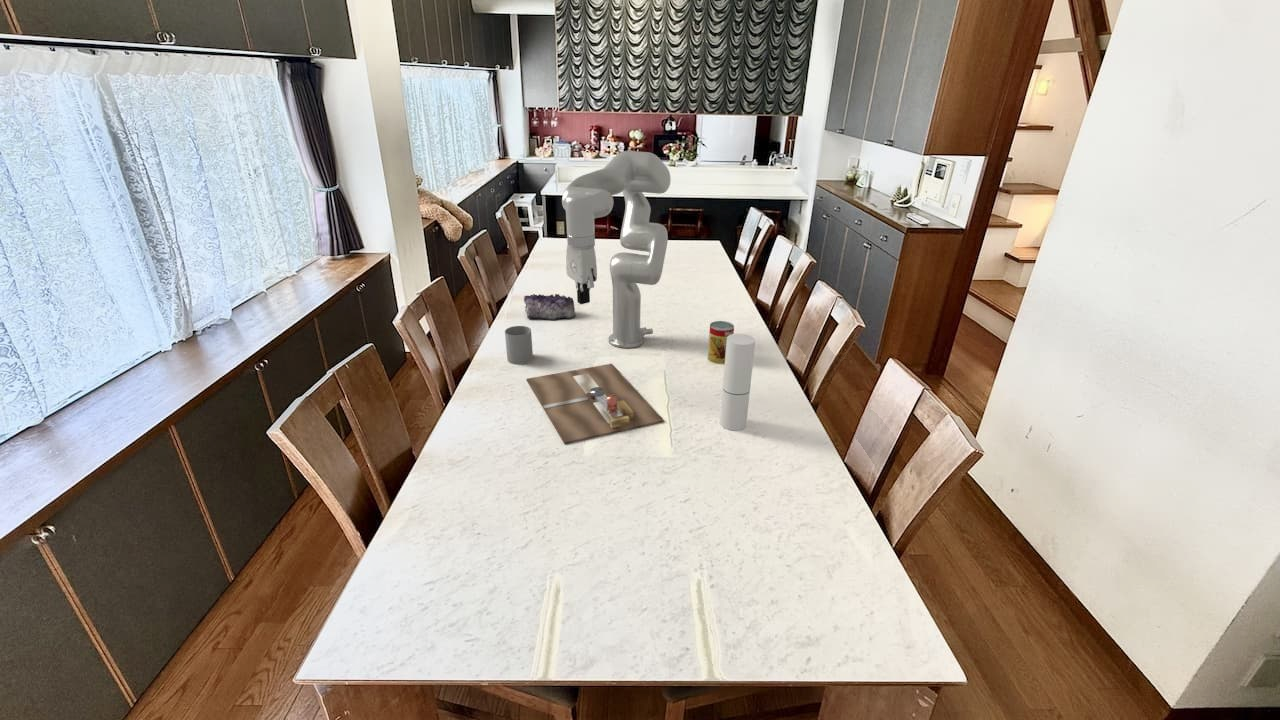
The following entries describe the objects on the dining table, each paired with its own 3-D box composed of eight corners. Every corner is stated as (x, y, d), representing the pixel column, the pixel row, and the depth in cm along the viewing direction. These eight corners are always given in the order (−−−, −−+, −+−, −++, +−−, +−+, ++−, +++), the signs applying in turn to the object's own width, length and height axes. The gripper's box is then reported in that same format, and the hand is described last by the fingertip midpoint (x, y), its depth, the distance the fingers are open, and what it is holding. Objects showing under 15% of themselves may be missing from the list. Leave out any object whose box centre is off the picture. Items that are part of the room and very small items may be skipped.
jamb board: (611, 365, 194) (611, 357, 193) (663, 421, 163) (663, 413, 161) (526, 380, 183) (526, 372, 182) (564, 444, 152) (564, 435, 151)
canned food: (730, 365, 195) (733, 331, 190) (706, 362, 197) (708, 328, 192) (731, 355, 202) (734, 322, 197) (708, 352, 204) (711, 319, 199)
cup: (527, 365, 193) (525, 336, 188) (503, 362, 194) (500, 334, 190) (536, 354, 200) (534, 327, 196) (513, 352, 202) (511, 324, 197)
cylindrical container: (748, 419, 164) (757, 335, 154) (743, 432, 158) (752, 346, 148) (722, 414, 166) (729, 331, 156) (717, 427, 160) (724, 342, 150)
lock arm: (588, 394, 174) (588, 377, 172) (601, 391, 176) (601, 375, 173) (611, 422, 160) (610, 405, 158) (624, 419, 162) (624, 402, 160)
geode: (577, 310, 238) (577, 288, 233) (574, 325, 229) (574, 302, 223) (526, 308, 238) (524, 285, 233) (520, 322, 228) (519, 299, 223)
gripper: (556, 236, 168) (560, 297, 177) (582, 249, 157) (585, 313, 166) (579, 232, 172) (582, 292, 180) (606, 244, 161) (608, 308, 169)
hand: (583, 302), depth 173 cm, fingers closed
